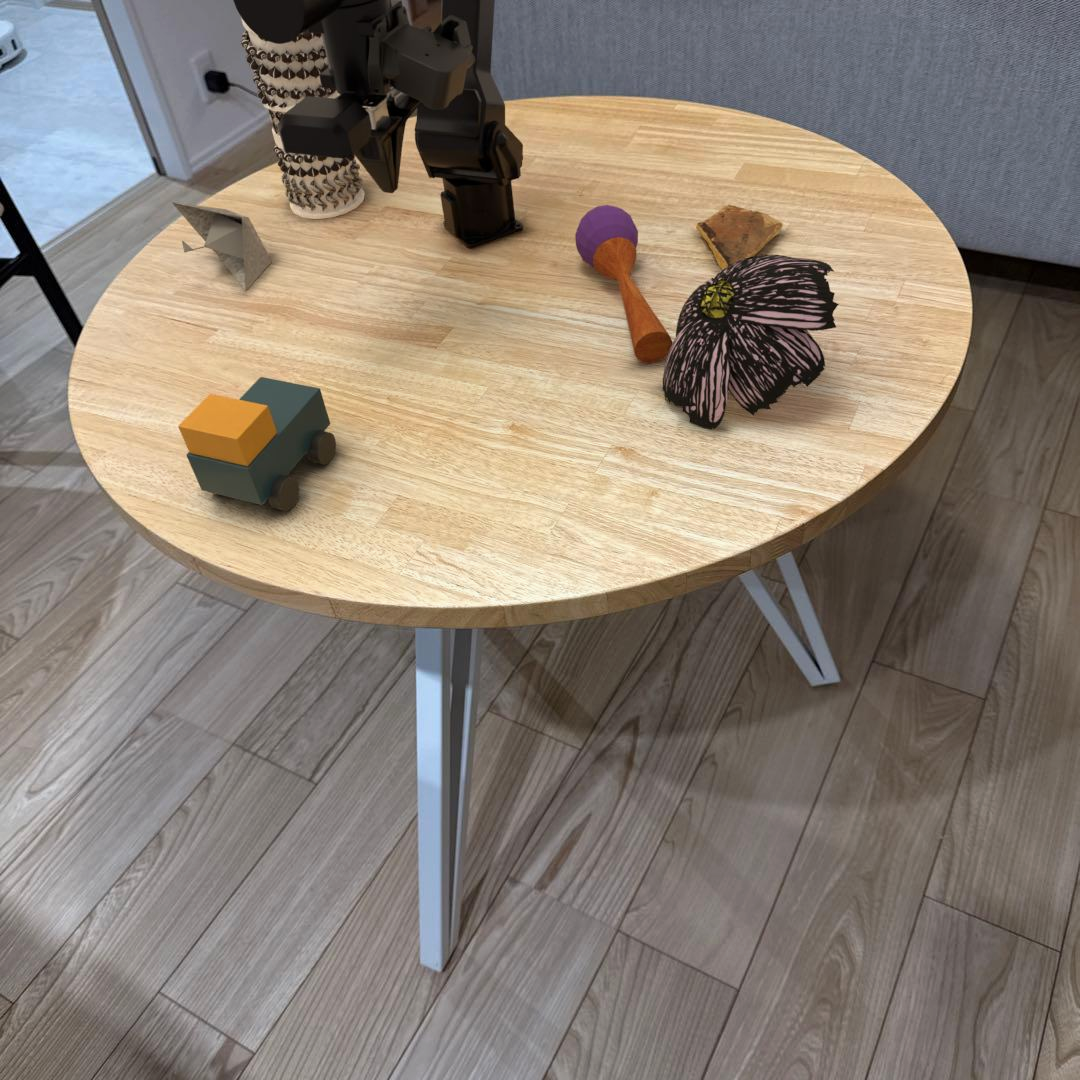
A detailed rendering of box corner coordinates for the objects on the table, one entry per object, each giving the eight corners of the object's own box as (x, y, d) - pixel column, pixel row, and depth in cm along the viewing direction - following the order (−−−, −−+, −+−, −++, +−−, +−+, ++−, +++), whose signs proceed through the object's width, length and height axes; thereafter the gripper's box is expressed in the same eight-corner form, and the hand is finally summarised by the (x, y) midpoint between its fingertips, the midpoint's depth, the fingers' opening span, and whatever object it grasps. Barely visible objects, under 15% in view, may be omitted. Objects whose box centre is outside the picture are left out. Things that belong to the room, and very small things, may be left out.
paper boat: (302, 253, 102) (232, 273, 96) (282, 296, 107) (213, 318, 100) (228, 168, 103) (154, 182, 96) (211, 214, 108) (138, 230, 101)
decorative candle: (385, 190, 113) (335, -58, 96) (331, 227, 108) (268, -28, 90) (324, 176, 117) (265, -65, 99) (270, 211, 112) (198, -37, 94)
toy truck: (242, 347, 78) (164, 425, 72) (321, 362, 76) (247, 443, 70) (271, 428, 84) (200, 506, 78) (344, 443, 82) (278, 526, 75)
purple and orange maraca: (613, 332, 83) (563, 205, 96) (626, 383, 87) (577, 256, 100) (682, 309, 82) (623, 185, 95) (691, 362, 87) (634, 236, 100)
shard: (732, 286, 93) (733, 268, 92) (662, 265, 97) (662, 249, 96) (785, 234, 99) (787, 217, 98) (717, 217, 103) (718, 200, 101)
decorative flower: (633, 242, 81) (821, 190, 76) (673, 331, 91) (843, 290, 85) (634, 386, 74) (841, 340, 69) (677, 466, 84) (863, 431, 78)
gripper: (385, 46, 67) (424, 256, 78) (498, -41, 79) (517, 152, 90) (248, 37, 71) (303, 239, 82) (375, -45, 82) (408, 141, 93)
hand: (390, 191), depth 86 cm, fingers closed
